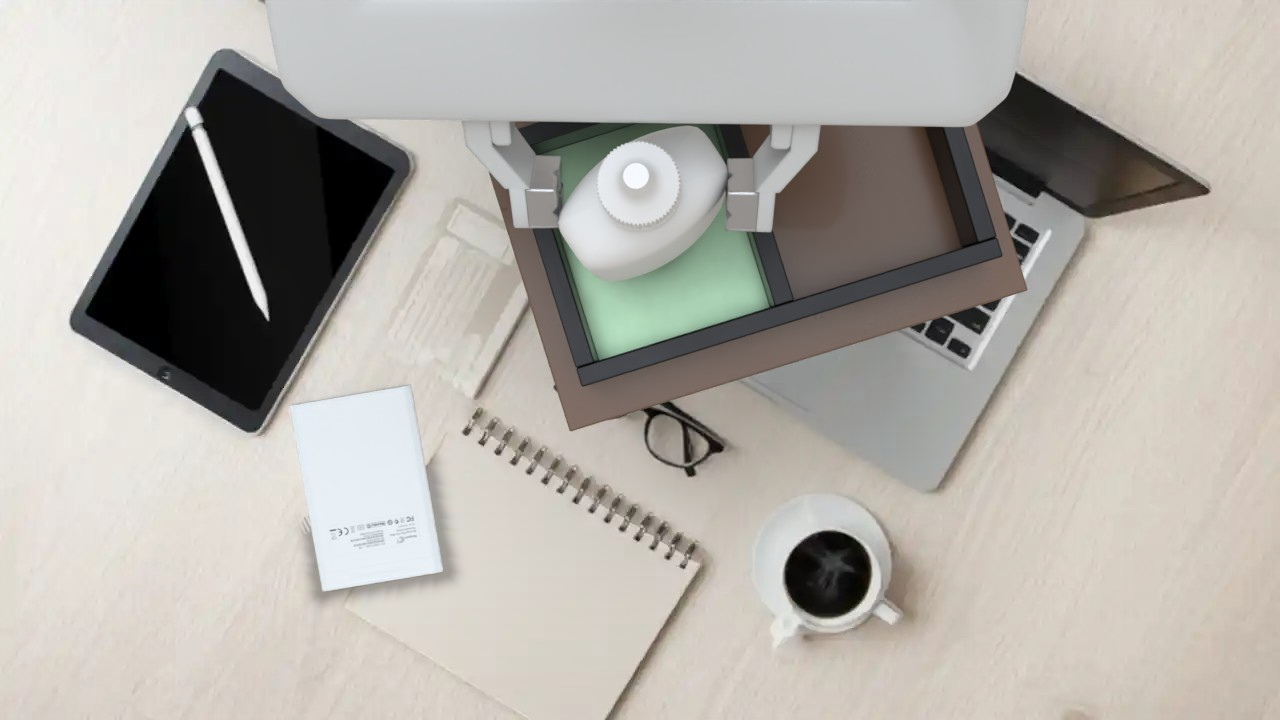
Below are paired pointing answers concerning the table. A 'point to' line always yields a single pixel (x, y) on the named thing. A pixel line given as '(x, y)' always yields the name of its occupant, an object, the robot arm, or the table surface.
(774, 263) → the brown compartment tray
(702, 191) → the eye dropper bottle
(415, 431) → the hard drive
